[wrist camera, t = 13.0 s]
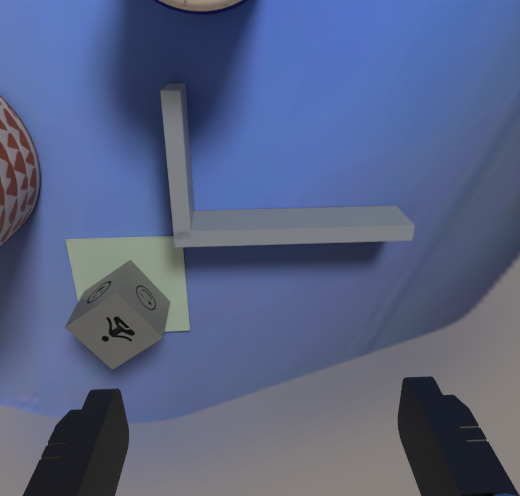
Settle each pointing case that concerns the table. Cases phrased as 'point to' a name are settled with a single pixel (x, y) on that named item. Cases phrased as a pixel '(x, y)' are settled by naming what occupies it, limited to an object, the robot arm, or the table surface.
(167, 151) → the pen walls
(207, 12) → the teacup with lid
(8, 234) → the planter
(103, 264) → the mat
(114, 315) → the dice cube
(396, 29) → the table surface
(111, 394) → the robot arm
